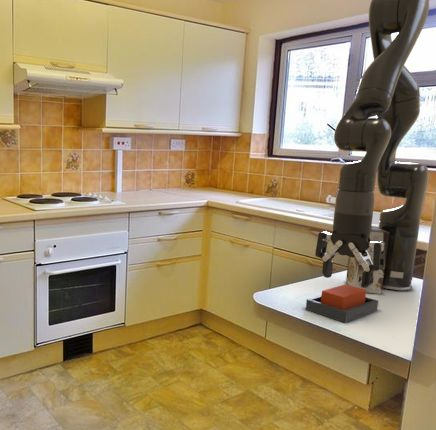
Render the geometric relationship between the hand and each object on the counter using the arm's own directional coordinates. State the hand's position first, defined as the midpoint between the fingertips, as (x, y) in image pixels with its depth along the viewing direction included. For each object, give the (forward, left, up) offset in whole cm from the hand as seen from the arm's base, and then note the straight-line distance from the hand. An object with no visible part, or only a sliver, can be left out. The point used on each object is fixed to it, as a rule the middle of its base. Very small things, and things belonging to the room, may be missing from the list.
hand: (345, 281), depth 103 cm
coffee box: (-22, -6, -7) cm, 24 cm away
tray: (0, 0, -7) cm, 7 cm away
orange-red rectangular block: (0, 0, -6) cm, 6 cm away
